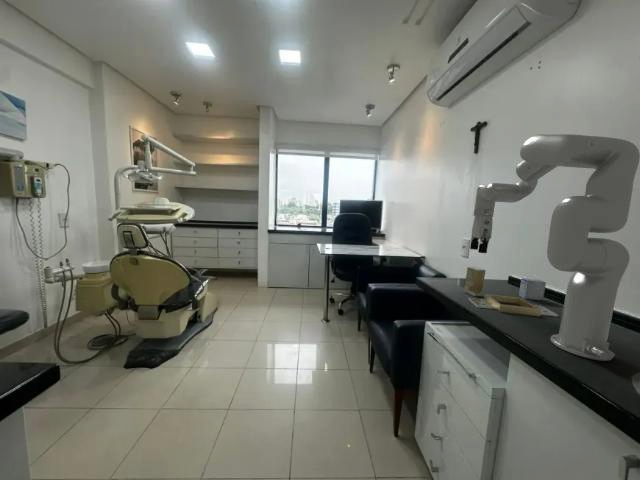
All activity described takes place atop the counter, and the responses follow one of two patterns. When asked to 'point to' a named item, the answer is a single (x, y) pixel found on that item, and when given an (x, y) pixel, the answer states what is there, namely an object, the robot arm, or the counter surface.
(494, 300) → the wooden flat frame
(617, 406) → the counter surface
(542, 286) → the medicine box
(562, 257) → the robot arm
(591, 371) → the counter surface
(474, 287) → the skincare box
